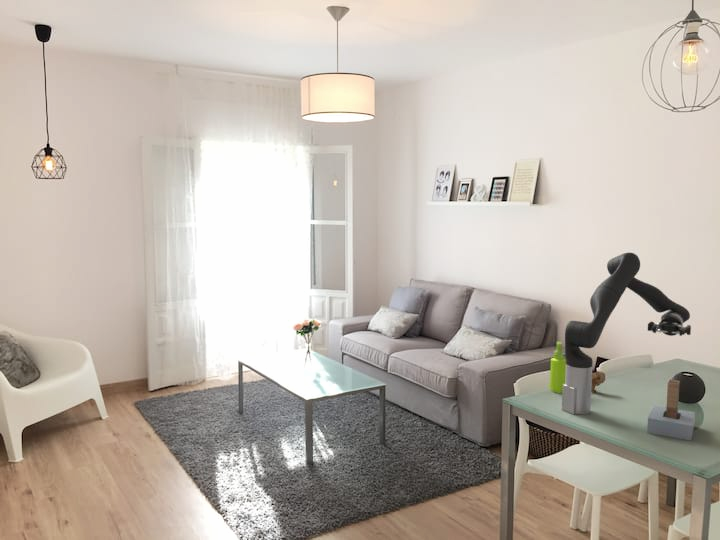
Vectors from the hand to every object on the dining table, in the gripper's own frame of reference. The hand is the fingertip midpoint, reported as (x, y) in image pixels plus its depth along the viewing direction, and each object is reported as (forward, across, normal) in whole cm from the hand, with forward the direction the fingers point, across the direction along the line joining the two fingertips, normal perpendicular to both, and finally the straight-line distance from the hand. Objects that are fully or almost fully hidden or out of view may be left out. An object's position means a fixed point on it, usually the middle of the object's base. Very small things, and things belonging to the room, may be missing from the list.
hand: (667, 331), depth 219 cm
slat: (+18, +4, +30) cm, 35 cm away
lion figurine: (-12, -29, +30) cm, 44 cm away
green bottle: (-5, -39, +30) cm, 50 cm away
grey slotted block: (+18, +4, +30) cm, 35 cm away
